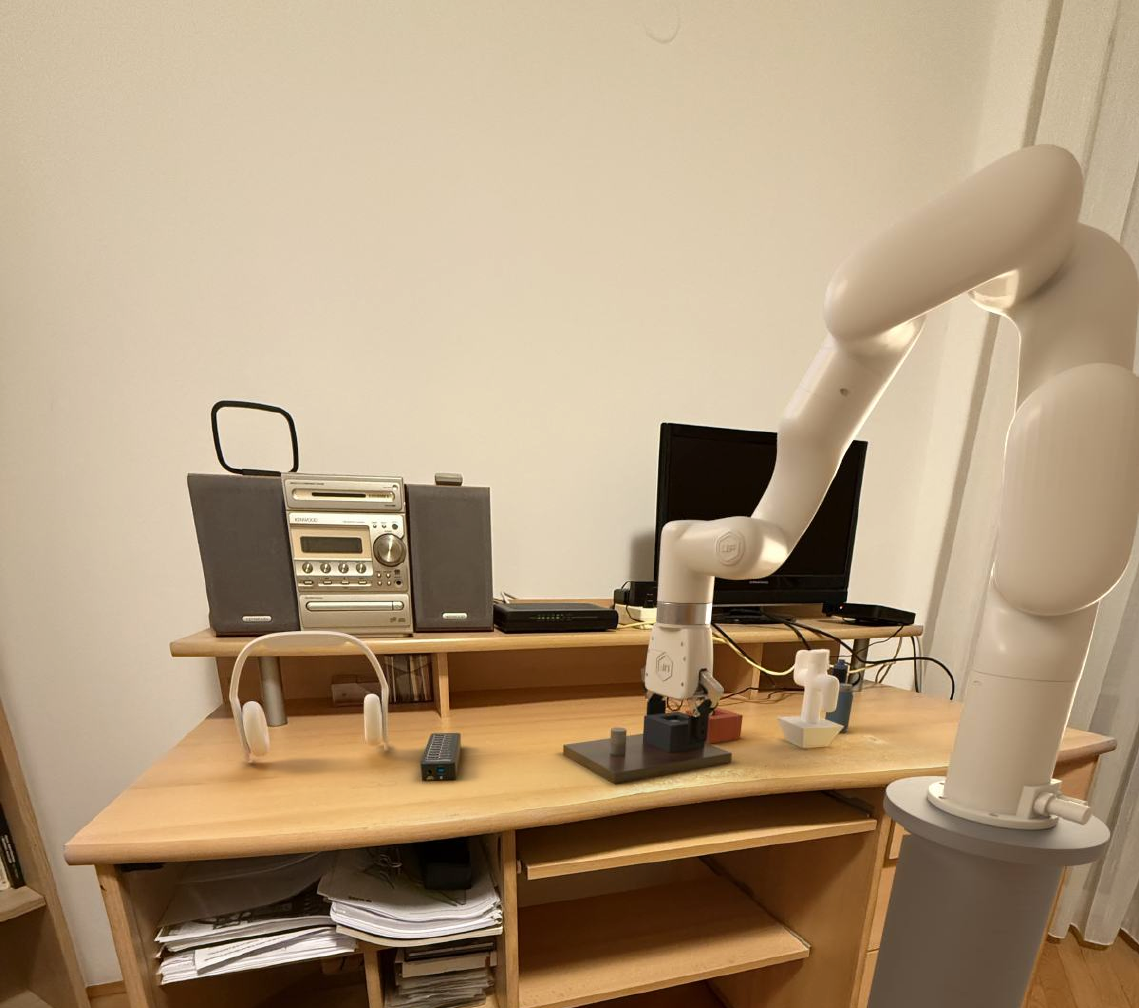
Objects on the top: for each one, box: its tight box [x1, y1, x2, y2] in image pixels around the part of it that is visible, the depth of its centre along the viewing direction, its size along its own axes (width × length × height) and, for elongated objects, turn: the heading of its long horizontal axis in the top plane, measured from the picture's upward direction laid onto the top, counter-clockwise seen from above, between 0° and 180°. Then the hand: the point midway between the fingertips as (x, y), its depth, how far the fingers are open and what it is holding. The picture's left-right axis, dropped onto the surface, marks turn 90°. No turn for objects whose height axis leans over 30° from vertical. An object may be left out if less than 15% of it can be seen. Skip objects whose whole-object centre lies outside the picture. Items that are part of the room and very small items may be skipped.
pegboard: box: [562, 720, 733, 785], centre depth 87 cm, size 14×20×5 cm
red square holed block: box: [685, 706, 744, 745], centre depth 99 cm, size 6×6×4 cm
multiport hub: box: [420, 732, 462, 782], centre depth 84 cm, size 4×14×2 cm, turn 7°
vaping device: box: [824, 658, 854, 734], centre depth 103 cm, size 3×5×12 cm, turn 4°
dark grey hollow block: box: [642, 711, 706, 753], centre depth 89 cm, size 6×6×4 cm
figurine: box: [776, 648, 844, 749], centre depth 94 cm, size 7×9×15 cm
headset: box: [228, 630, 390, 764], centre depth 82 cm, size 20×7×18 cm, turn 111°
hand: (674, 733), depth 89 cm, fingers open, 9 cm apart
